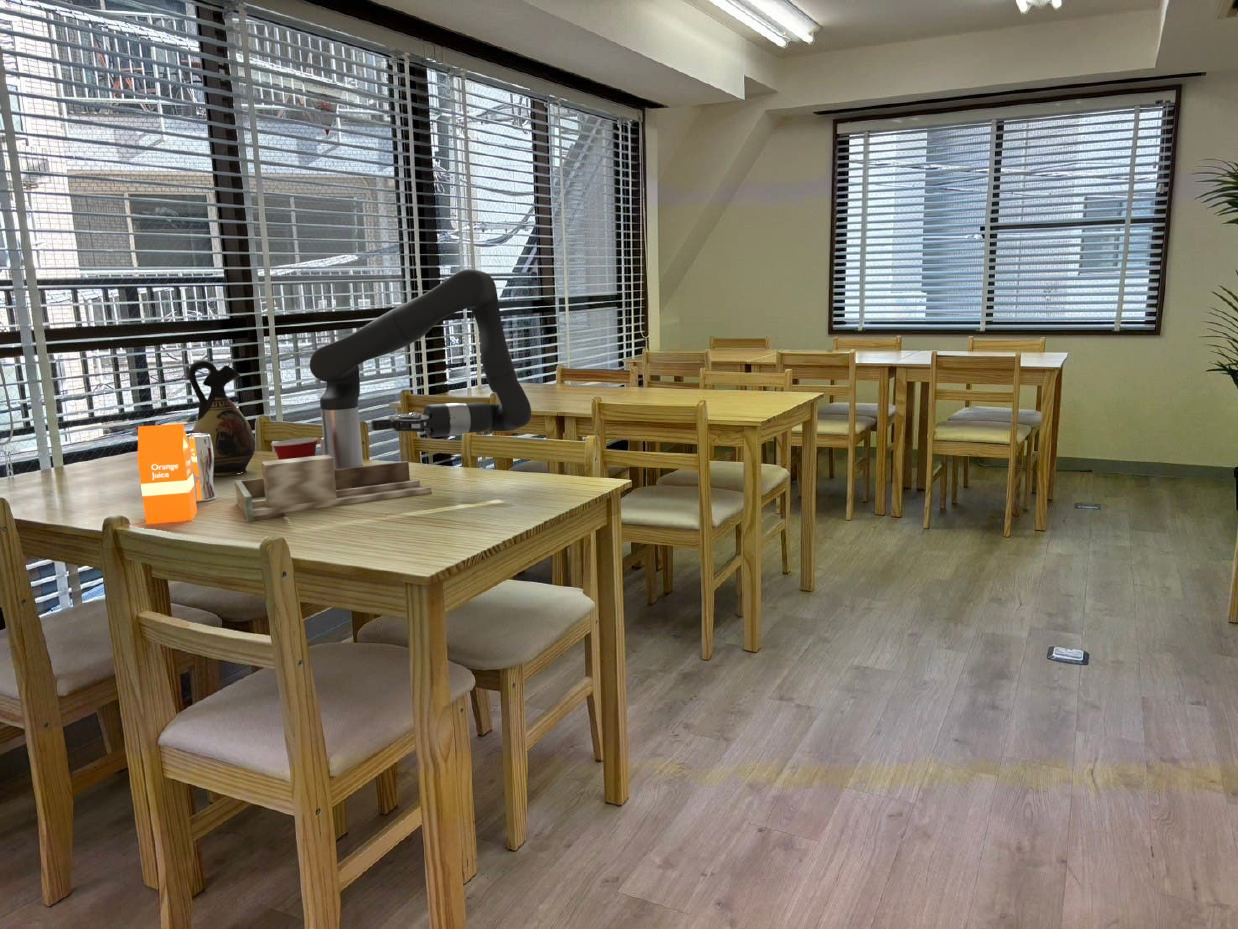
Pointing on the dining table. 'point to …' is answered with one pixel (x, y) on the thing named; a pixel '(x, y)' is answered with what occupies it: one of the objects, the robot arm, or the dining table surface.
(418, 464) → the dining table surface
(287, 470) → the beech block
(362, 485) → the pads
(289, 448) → the plastic cup
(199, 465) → the beer glass
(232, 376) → the ceramic jug
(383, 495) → the board
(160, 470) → the orange juice
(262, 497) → the pad
